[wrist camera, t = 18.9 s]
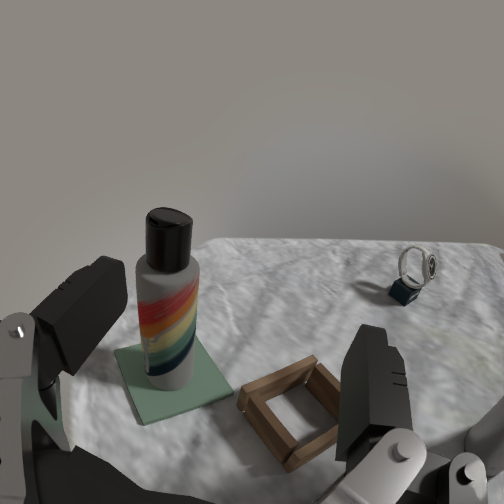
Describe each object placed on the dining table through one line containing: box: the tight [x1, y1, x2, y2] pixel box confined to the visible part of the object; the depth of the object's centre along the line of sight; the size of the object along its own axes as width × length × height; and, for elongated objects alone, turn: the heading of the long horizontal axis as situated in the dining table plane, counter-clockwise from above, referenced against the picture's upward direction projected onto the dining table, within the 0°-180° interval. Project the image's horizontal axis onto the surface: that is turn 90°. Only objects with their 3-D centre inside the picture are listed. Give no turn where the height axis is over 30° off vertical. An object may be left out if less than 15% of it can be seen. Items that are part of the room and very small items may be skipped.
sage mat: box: [114, 335, 234, 426], centre depth 34 cm, size 11×11×1 cm
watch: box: [389, 245, 437, 306], centre depth 54 cm, size 6×8×11 cm
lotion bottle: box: [136, 207, 200, 391], centre depth 29 cm, size 6×6×20 cm
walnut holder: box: [237, 355, 340, 473], centre depth 30 cm, size 10×10×4 cm
